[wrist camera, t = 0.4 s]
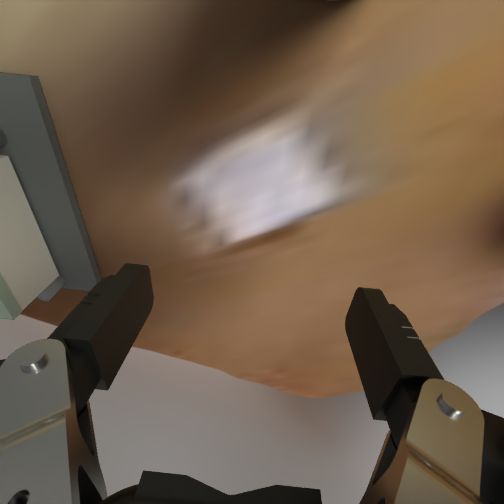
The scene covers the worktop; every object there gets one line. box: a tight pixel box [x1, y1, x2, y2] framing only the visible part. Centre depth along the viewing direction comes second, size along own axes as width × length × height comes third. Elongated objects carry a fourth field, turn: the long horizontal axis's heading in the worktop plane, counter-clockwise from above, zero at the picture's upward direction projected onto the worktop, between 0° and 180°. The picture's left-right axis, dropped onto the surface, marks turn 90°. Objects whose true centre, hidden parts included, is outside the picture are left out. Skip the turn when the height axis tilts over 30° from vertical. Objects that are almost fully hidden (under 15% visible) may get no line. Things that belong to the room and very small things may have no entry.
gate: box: [0, 155, 59, 320], centre depth 26 cm, size 15×2×7 cm, turn 175°
